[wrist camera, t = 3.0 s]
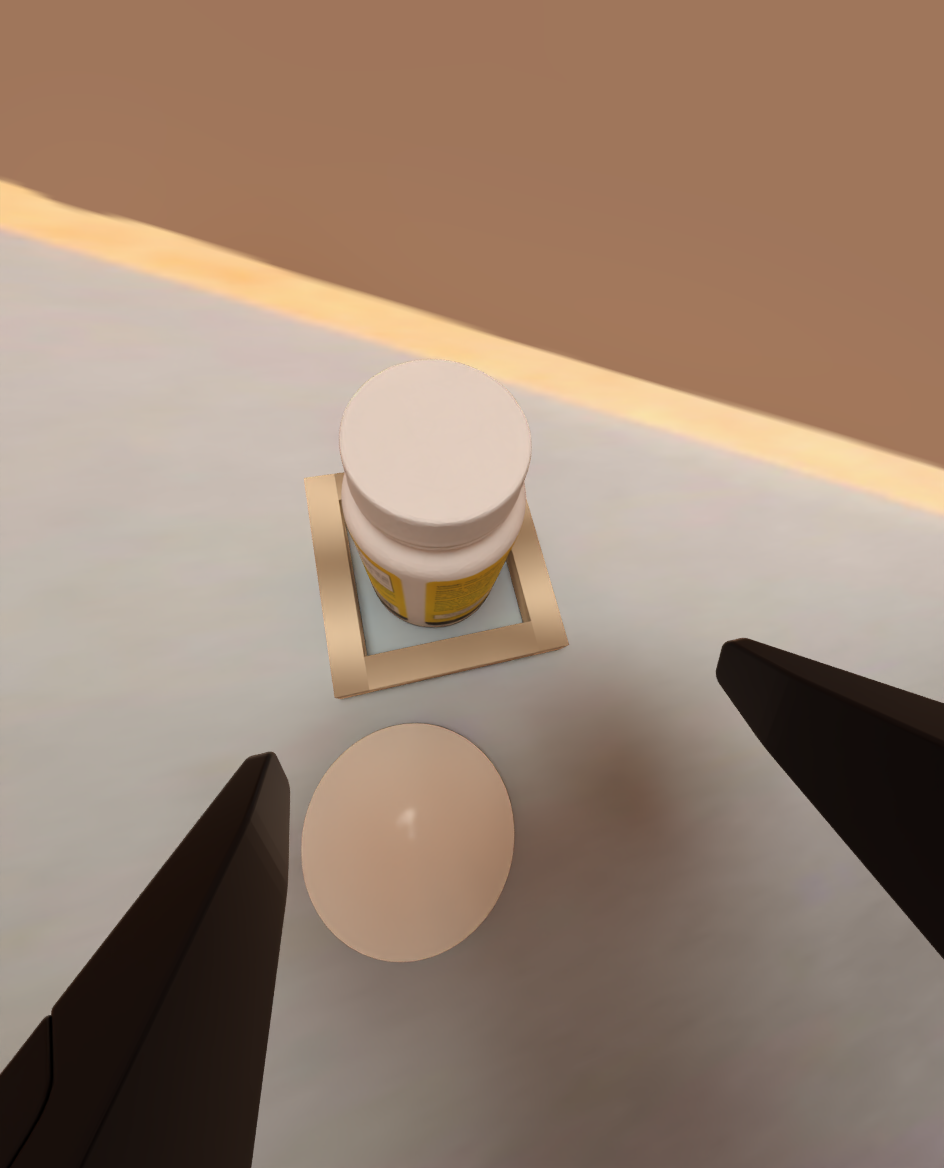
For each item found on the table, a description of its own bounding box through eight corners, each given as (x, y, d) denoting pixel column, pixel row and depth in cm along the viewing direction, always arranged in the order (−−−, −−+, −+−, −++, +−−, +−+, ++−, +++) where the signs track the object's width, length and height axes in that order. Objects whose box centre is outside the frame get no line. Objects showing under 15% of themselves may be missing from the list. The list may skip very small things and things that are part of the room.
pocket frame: (559, 649, 22) (568, 644, 20) (341, 699, 20) (334, 697, 19) (506, 463, 25) (511, 448, 23) (311, 492, 23) (303, 478, 21)
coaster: (550, 807, 20) (553, 810, 19) (424, 1007, 17) (424, 1018, 16) (400, 683, 21) (399, 682, 20) (259, 855, 18) (253, 860, 17)
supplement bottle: (505, 533, 23) (573, 379, 13) (476, 643, 22) (527, 573, 11) (392, 500, 23) (363, 317, 13) (352, 609, 21) (279, 502, 11)
